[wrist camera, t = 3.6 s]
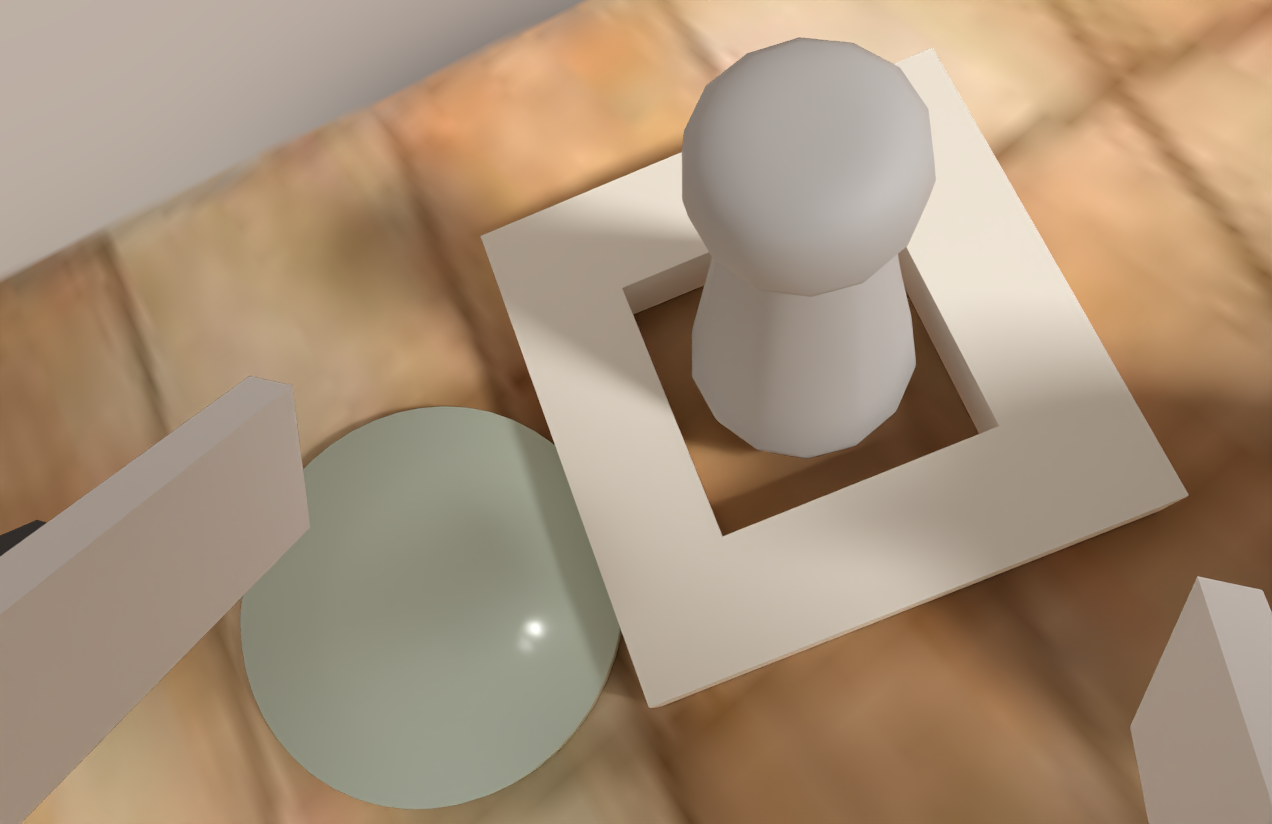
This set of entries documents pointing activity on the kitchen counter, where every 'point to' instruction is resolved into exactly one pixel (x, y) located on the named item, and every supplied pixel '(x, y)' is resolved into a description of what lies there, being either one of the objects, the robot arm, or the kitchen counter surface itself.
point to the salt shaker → (805, 242)
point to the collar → (863, 512)
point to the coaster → (431, 612)
